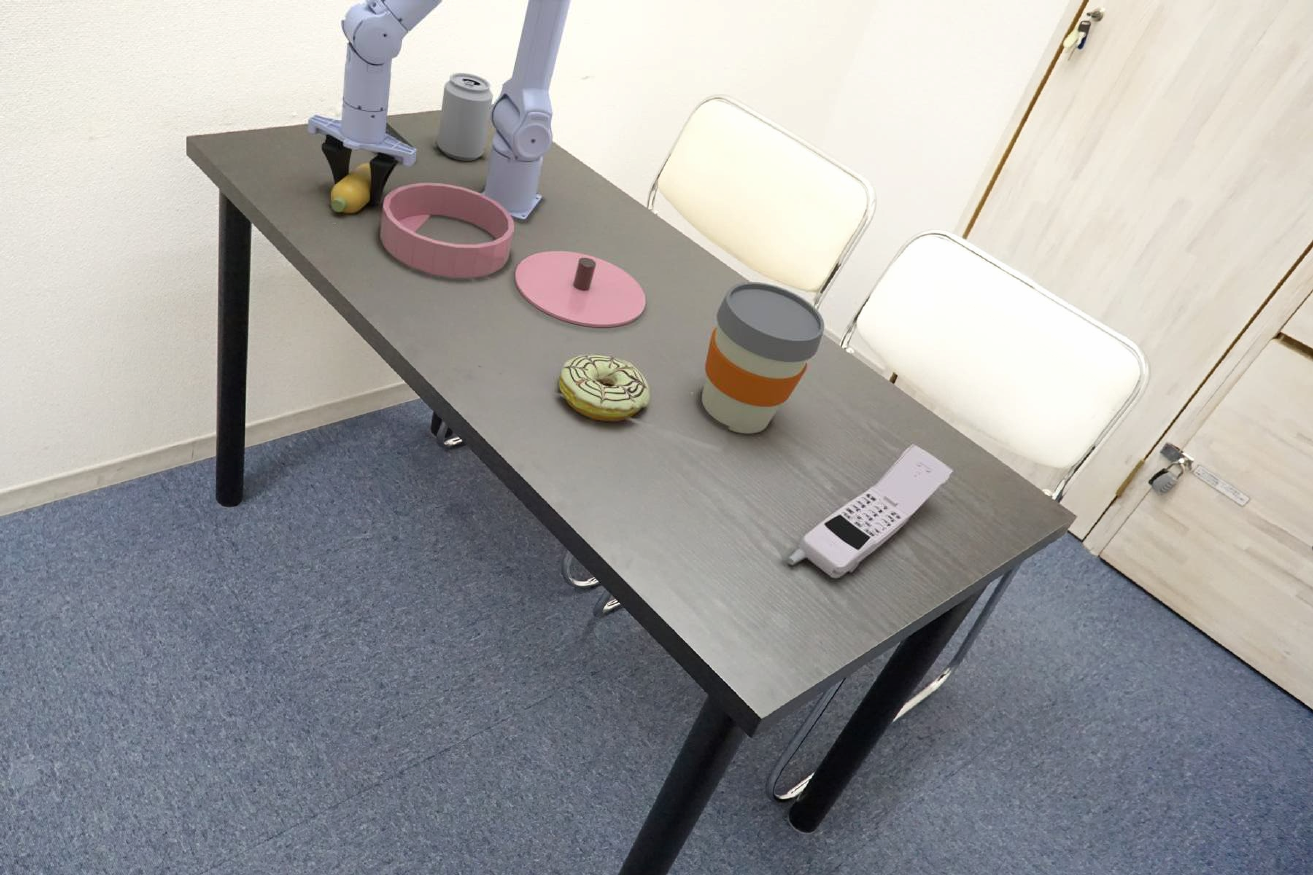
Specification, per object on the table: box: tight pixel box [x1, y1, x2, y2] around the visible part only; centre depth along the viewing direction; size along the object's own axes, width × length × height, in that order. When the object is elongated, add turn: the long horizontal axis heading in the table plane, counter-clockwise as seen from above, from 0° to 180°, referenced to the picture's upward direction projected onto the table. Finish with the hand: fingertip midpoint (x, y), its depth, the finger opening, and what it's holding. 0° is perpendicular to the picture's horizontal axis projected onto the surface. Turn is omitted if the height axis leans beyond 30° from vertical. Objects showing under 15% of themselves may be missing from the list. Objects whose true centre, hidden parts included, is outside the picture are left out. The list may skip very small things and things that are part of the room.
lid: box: [514, 250, 647, 328], centre depth 130 cm, size 18×18×5 cm
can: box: [436, 72, 494, 162], centre depth 151 cm, size 8×8×12 cm
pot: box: [379, 182, 515, 279], centre depth 129 cm, size 17×17×5 cm
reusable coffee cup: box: [701, 281, 825, 434], centre depth 115 cm, size 13×12×15 cm
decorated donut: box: [558, 353, 651, 422], centre depth 112 cm, size 10×11×4 cm
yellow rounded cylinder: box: [330, 162, 371, 214], centre depth 132 cm, size 12×4×4 cm, turn 170°
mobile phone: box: [787, 443, 954, 579], centre depth 106 cm, size 6×6×25 cm
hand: (357, 196), depth 133 cm, fingers closed on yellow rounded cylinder, 4 cm apart
